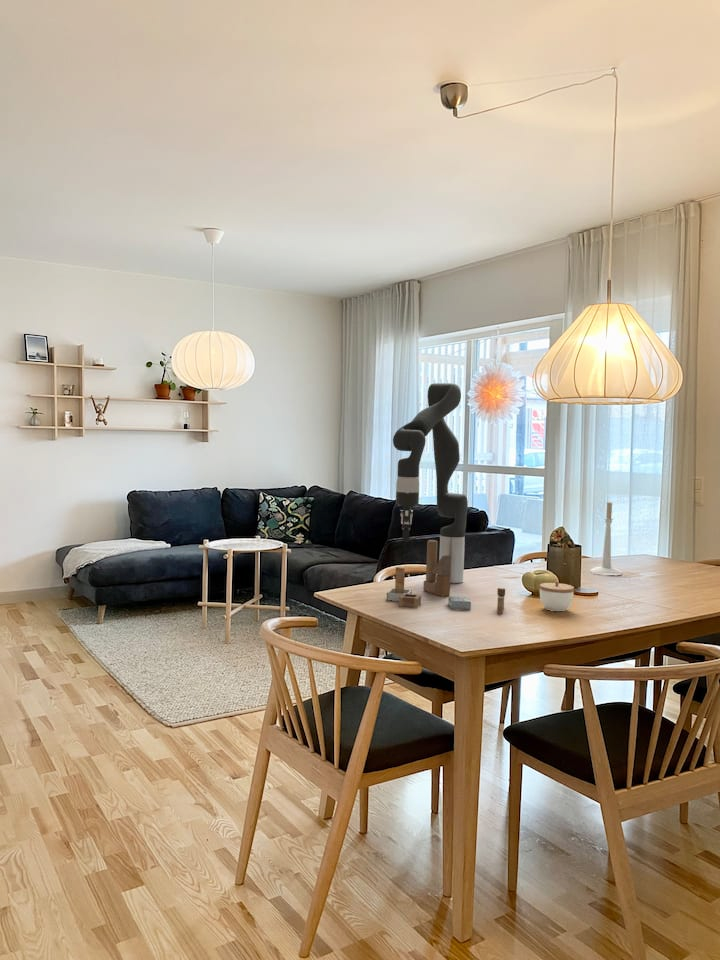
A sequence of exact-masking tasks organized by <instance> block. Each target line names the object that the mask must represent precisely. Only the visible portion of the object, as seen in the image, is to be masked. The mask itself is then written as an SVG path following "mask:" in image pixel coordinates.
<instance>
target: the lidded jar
mask: <svg viewBox="0 0 720 960" xmlns="http://www.w3.org/2000/svg"><path fill="white" fill-rule="evenodd" d="M574 592H575V587H574V586H573V585H570V584H566V583H560V582H559V580H555V581H554V582H544V583H543V582H542V583H540V584H539V599H540V602H541V604H542V605H543V607H544V608H545V609H547V611H548V610H550V611H549V612H553V611H564V612H566V611H565V610H568V609H569V608H570V606H571V605H572V603H573V601H574V594H575V593H574Z"/></svg>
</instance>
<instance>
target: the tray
mask: <svg viewBox="0 0 720 960" xmlns="http://www.w3.org/2000/svg"><path fill="white" fill-rule="evenodd" d="M404 593H407V594H413V590H412V589H406V588H404ZM401 595H402V594H397V593H395V587H394V588H390V589H388V591H387V592H386V599H385V601H387V600H392V601H391V602H398V601H399V597H400V596H401Z"/></svg>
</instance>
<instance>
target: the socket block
mask: <svg viewBox="0 0 720 960" xmlns="http://www.w3.org/2000/svg"><path fill="white" fill-rule="evenodd" d="M421 603H422V594H419V593H412V594H407V593H403V594H402V595H401V596H400V597H399V602H398V607H403V606H407V607H406V608H414V607H418V606H419V607H420V605H421ZM419 607H418V608H419Z"/></svg>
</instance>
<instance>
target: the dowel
mask: <svg viewBox="0 0 720 960" xmlns="http://www.w3.org/2000/svg"><path fill="white" fill-rule="evenodd" d="M405 573H406V572H405V567H404V566H396V567H395V577H394V578H395V583H394V589H395V593H397V594H403V593H404V589H405Z"/></svg>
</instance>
